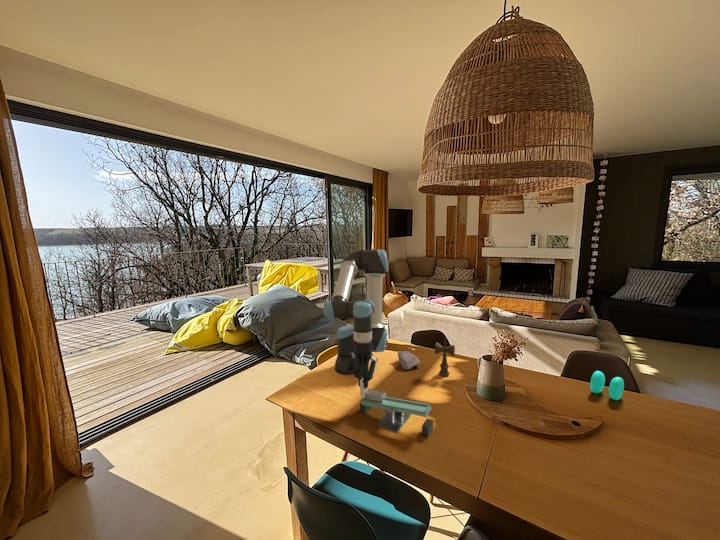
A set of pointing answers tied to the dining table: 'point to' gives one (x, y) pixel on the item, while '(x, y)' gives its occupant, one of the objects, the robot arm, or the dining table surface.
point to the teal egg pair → (614, 388)
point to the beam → (401, 406)
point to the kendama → (444, 356)
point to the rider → (375, 396)
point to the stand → (398, 420)
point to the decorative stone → (407, 360)
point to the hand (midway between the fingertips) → (363, 394)
